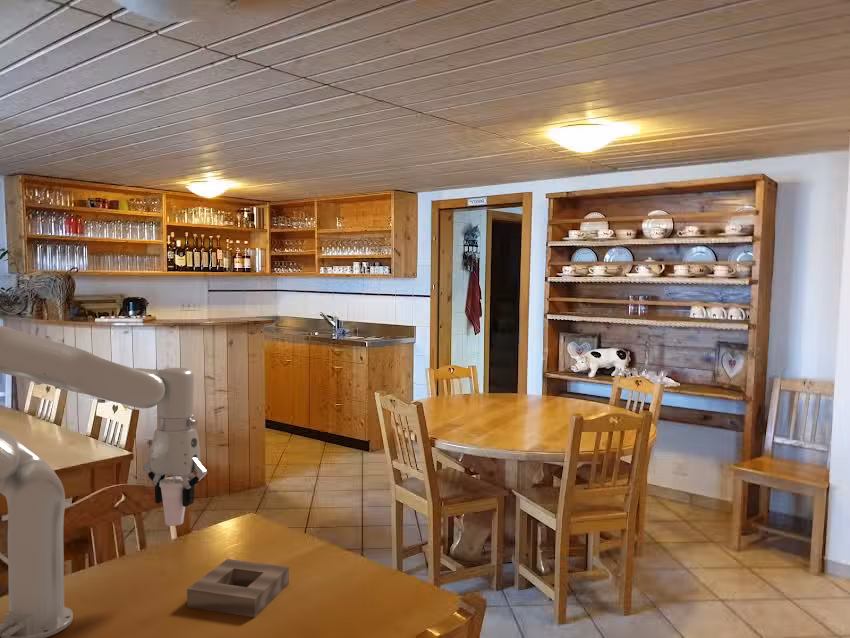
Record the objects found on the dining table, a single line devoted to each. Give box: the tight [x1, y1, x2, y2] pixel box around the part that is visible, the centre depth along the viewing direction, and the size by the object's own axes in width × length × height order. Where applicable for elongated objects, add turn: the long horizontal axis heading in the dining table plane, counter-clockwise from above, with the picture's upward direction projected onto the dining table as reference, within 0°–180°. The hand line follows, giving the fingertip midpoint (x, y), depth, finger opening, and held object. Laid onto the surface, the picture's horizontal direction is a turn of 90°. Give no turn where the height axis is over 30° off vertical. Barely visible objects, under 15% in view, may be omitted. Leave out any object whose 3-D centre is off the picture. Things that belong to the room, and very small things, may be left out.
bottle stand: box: [186, 558, 290, 618], centre depth 145 cm, size 16×16×4 cm
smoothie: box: [159, 476, 186, 527], centre depth 146 cm, size 6×6×14 cm
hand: (174, 502), depth 146 cm, fingers closed on smoothie, 6 cm apart
